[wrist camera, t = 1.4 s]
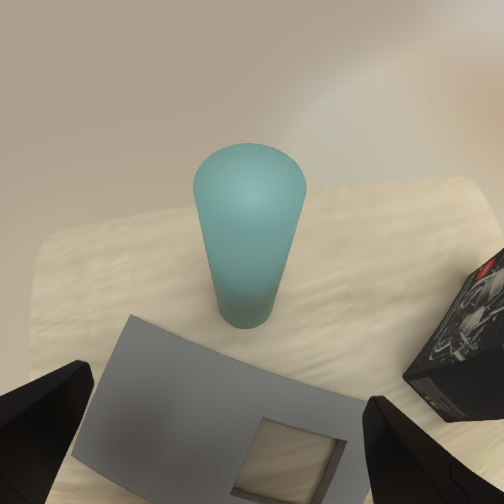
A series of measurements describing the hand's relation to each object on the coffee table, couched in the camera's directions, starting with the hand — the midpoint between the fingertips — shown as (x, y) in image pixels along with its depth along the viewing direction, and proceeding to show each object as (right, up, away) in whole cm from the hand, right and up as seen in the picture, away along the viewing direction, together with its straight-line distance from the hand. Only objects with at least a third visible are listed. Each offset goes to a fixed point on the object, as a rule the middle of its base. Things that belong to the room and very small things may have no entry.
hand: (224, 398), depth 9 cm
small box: (+19, -4, +14) cm, 24 cm away
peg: (0, +1, +15) cm, 15 cm away
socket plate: (-1, -9, +10) cm, 13 cm away
